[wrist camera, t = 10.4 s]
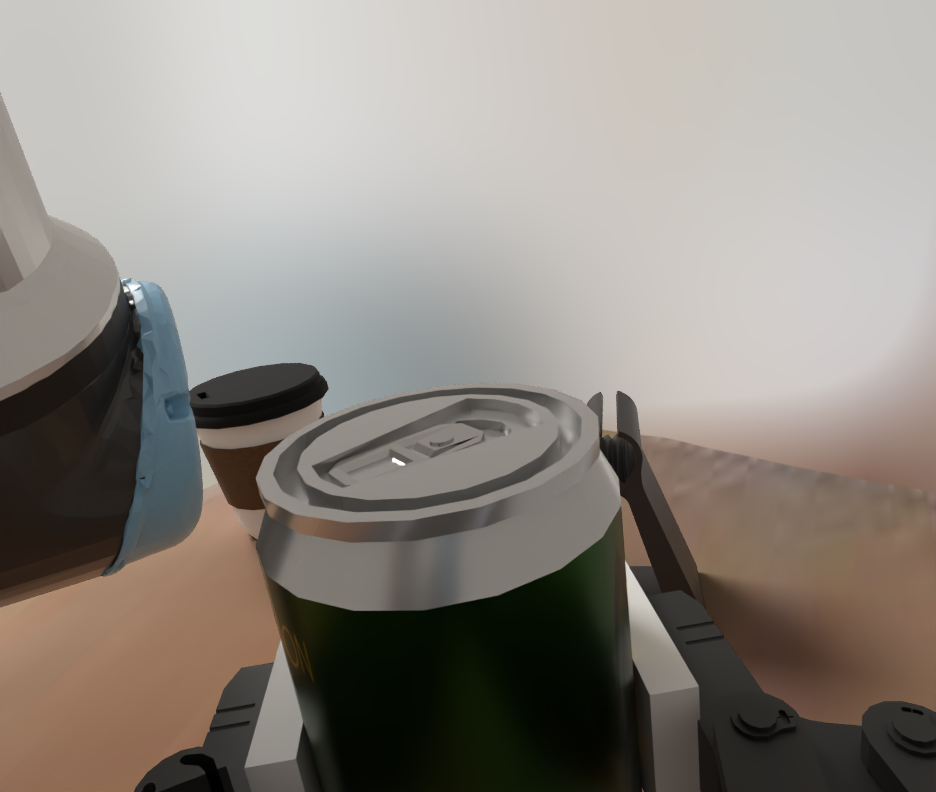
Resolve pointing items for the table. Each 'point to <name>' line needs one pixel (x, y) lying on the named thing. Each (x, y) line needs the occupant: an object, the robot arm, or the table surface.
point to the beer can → (454, 593)
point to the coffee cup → (253, 425)
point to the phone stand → (647, 506)
